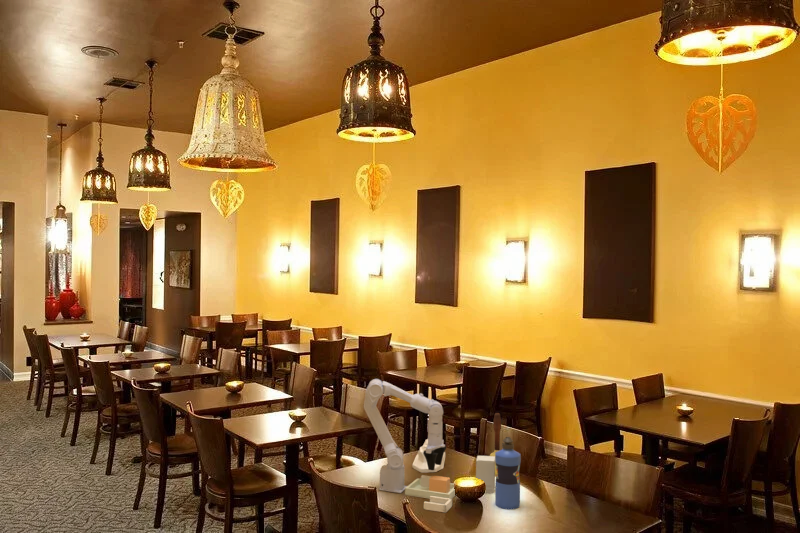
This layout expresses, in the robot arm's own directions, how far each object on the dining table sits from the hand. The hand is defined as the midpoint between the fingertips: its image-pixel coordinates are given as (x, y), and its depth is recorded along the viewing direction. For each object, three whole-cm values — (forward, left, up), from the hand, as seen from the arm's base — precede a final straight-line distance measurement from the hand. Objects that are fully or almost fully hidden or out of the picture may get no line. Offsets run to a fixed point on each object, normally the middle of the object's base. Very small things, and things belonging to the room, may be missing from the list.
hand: (434, 467), depth 261 cm
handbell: (+17, +34, -9) cm, 39 cm away
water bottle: (+31, -5, -9) cm, 32 cm away
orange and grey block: (+2, -4, -8) cm, 9 cm away
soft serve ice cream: (-11, +25, -9) cm, 29 cm away
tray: (+1, -4, -9) cm, 10 cm away
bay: (+7, -18, -9) cm, 21 cm away
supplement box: (+19, +8, -9) cm, 22 cm away
